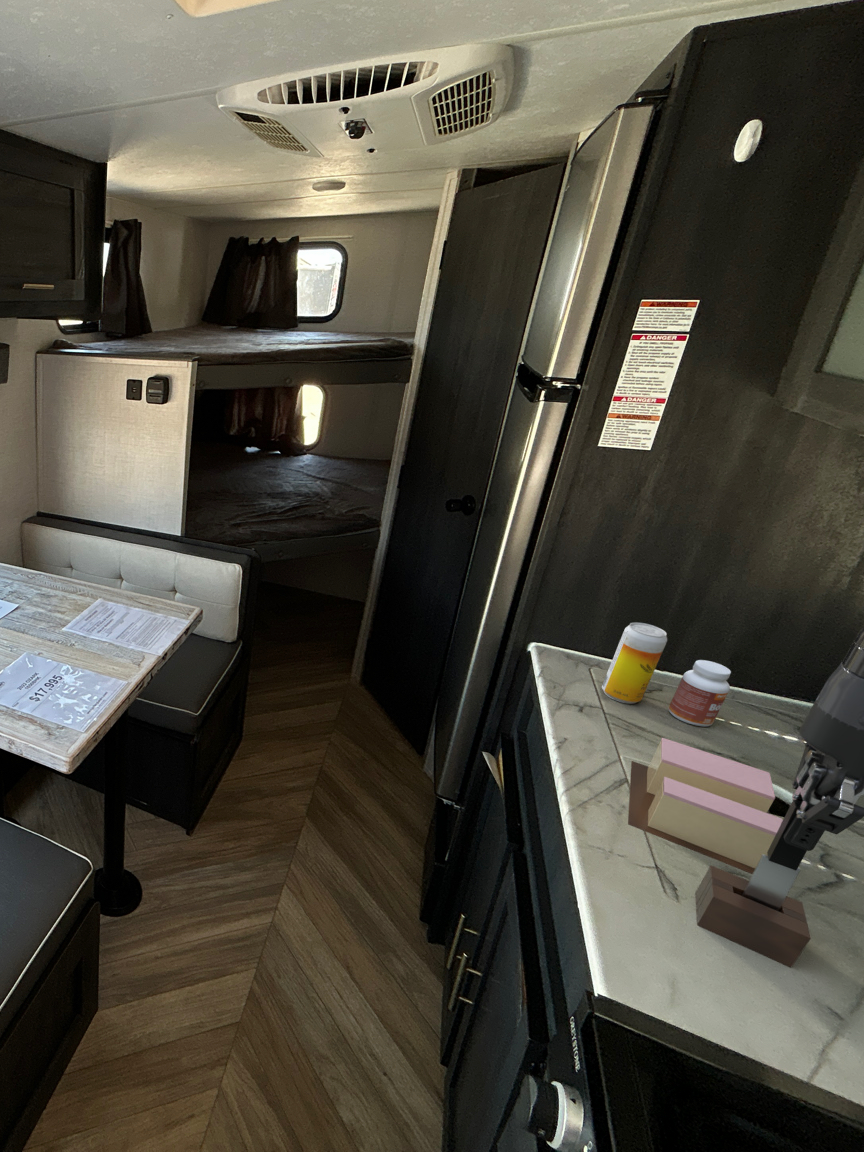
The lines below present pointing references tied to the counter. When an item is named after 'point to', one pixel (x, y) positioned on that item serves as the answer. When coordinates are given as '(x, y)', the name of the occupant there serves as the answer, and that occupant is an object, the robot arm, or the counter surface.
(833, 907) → the counter surface
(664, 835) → the cake board
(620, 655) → the beer can
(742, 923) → the knife block
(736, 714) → the counter surface
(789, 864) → the knife
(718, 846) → the cake slice
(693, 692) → the pill bottle
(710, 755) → the cake
